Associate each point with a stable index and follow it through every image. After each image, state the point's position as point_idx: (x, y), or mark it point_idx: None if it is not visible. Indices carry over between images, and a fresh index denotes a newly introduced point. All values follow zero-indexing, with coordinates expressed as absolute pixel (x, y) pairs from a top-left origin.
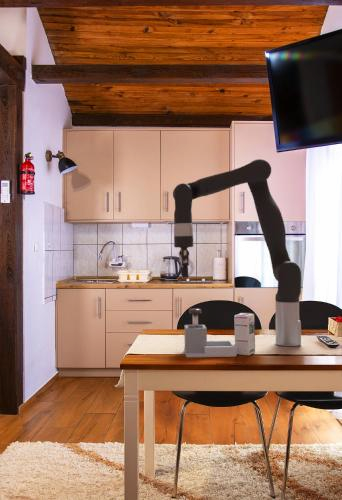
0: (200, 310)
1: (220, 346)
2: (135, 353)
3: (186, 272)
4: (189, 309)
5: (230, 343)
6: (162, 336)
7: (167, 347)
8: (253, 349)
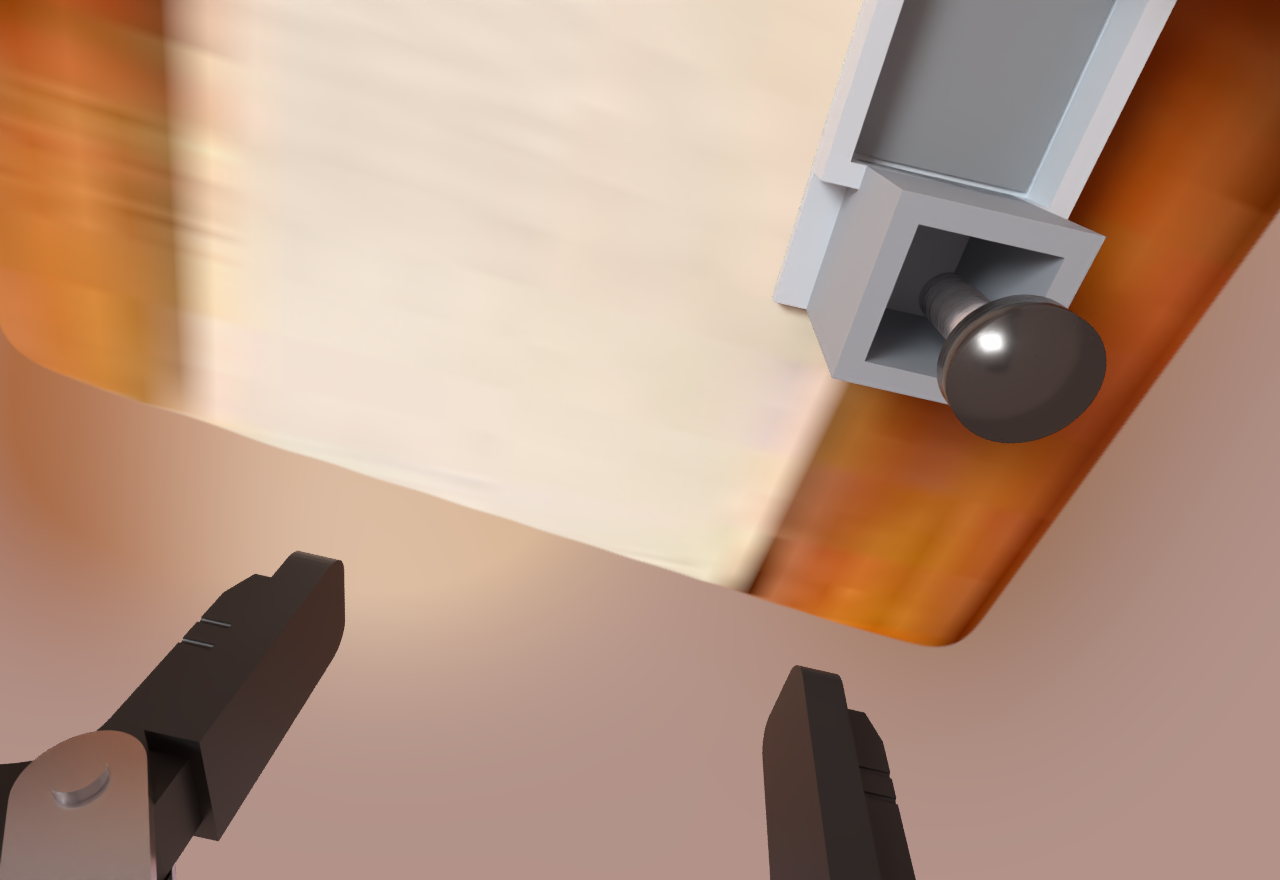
0: (1091, 328)
1: (1110, 87)
2: (740, 569)
3: (886, 796)
4: (1004, 442)
5: None
6: (260, 312)
7: (640, 375)
8: None
